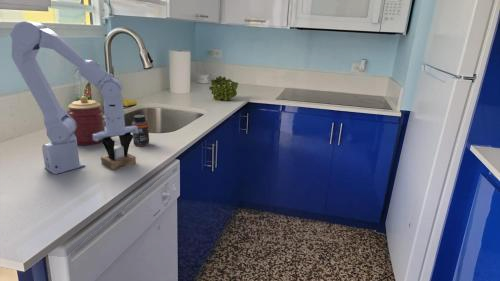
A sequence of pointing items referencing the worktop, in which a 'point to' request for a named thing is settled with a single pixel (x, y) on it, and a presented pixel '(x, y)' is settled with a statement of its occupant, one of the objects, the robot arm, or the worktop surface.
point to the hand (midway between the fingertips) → (118, 157)
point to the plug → (118, 152)
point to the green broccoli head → (223, 88)
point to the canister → (86, 120)
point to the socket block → (118, 162)
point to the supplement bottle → (140, 131)
